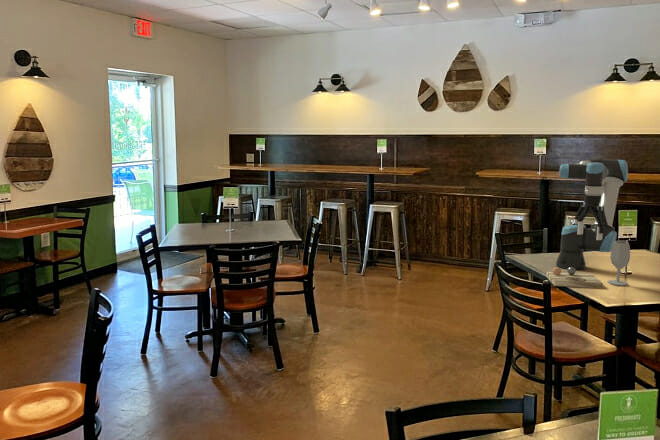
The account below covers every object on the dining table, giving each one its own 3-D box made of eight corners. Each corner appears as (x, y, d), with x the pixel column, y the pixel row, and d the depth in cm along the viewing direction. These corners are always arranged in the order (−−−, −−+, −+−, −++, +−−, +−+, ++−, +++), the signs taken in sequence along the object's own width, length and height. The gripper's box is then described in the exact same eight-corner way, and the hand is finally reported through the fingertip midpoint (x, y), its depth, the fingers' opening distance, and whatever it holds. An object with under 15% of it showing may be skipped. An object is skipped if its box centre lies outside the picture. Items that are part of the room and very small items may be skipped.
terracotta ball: (551, 273, 293) (552, 266, 292) (559, 274, 292) (560, 266, 291) (553, 275, 289) (553, 267, 288) (561, 276, 288) (562, 268, 287)
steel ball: (565, 273, 293) (566, 265, 293) (574, 273, 293) (574, 266, 292) (567, 275, 290) (568, 267, 289) (576, 275, 289) (577, 268, 288)
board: (546, 276, 297) (546, 271, 297) (591, 278, 294) (591, 273, 294) (554, 285, 280) (554, 280, 279) (602, 288, 276) (602, 283, 276)
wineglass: (631, 286, 281) (635, 243, 278) (615, 286, 280) (619, 244, 276) (619, 281, 290) (623, 240, 286) (603, 281, 288) (607, 240, 285)
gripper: (569, 191, 293) (566, 232, 297) (604, 198, 270) (601, 242, 274) (581, 190, 295) (578, 231, 299) (618, 197, 272) (614, 241, 276)
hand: (589, 237), depth 287 cm, fingers open, 13 cm apart
